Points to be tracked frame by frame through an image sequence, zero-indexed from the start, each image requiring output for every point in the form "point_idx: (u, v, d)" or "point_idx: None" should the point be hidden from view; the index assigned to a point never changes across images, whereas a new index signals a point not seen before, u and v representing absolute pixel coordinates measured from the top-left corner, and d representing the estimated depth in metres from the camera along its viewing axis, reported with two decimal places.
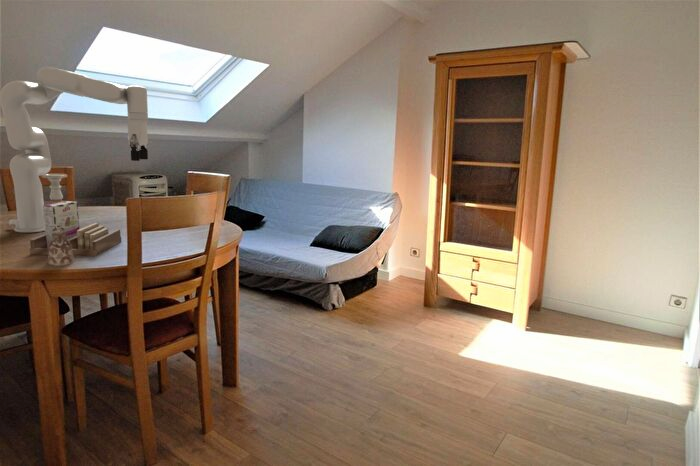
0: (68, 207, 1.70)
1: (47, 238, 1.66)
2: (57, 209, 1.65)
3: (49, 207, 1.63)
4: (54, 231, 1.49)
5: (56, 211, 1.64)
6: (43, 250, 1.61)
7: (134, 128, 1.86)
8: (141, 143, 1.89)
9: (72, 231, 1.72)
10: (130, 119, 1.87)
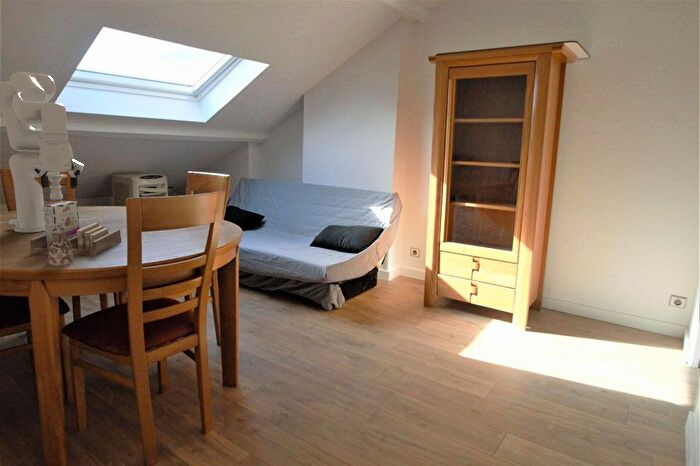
0: (68, 207, 1.70)
1: (47, 238, 1.66)
2: (57, 209, 1.65)
3: (49, 207, 1.63)
4: (54, 231, 1.49)
5: (56, 211, 1.64)
6: (43, 250, 1.61)
7: (71, 152, 1.65)
8: None
9: (72, 231, 1.72)
10: (62, 142, 1.63)
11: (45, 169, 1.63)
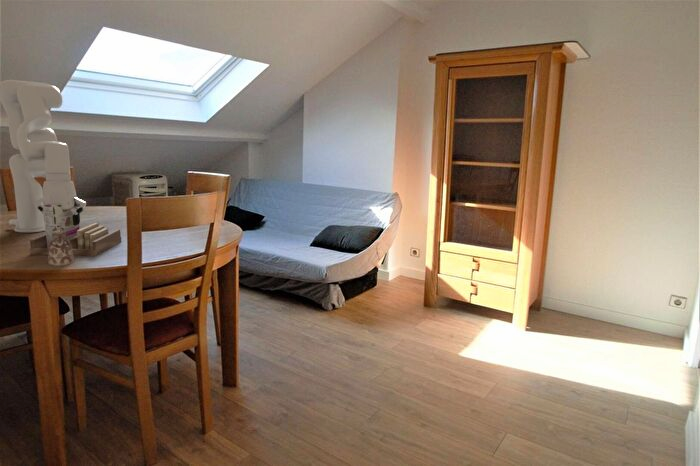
0: None
1: (47, 238, 1.66)
2: (57, 209, 1.65)
3: (49, 207, 1.64)
4: (54, 231, 1.49)
5: (56, 211, 1.64)
6: (43, 250, 1.61)
7: (74, 190, 1.68)
8: None
9: (72, 231, 1.72)
10: (65, 180, 1.66)
11: None
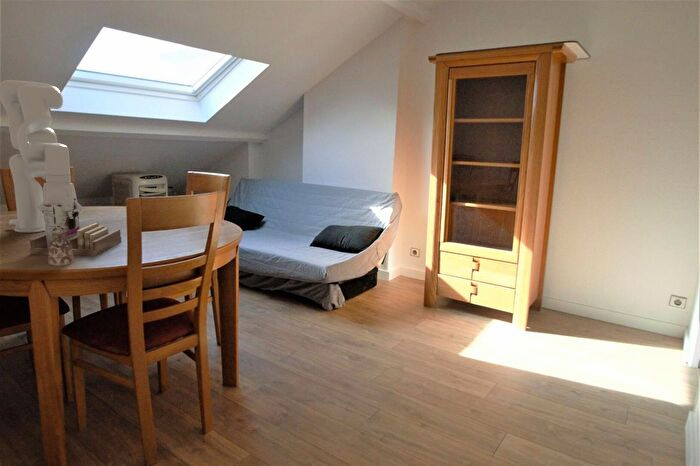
0: None
1: (47, 238, 1.66)
2: (57, 208, 1.65)
3: (49, 207, 1.63)
4: (54, 231, 1.49)
5: (56, 211, 1.64)
6: (43, 250, 1.61)
7: (73, 192, 1.69)
8: None
9: (72, 231, 1.72)
10: (65, 182, 1.66)
11: None
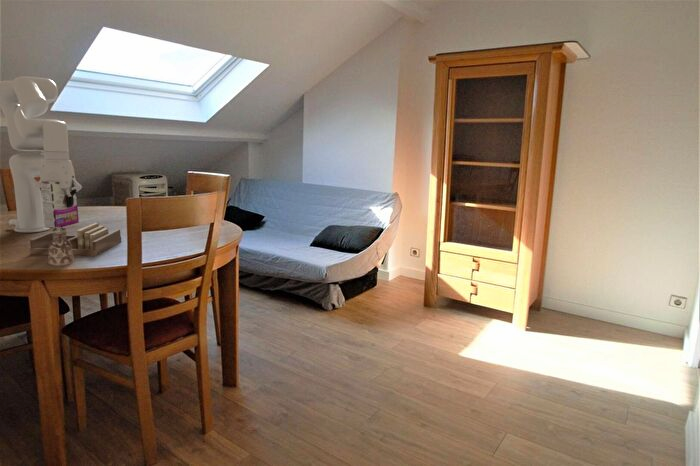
0: None
1: (45, 215, 1.65)
2: (55, 186, 1.64)
3: (47, 184, 1.62)
4: (54, 231, 1.49)
5: (54, 188, 1.63)
6: (43, 250, 1.61)
7: (72, 169, 1.67)
8: None
9: (70, 209, 1.71)
10: (63, 159, 1.64)
11: None
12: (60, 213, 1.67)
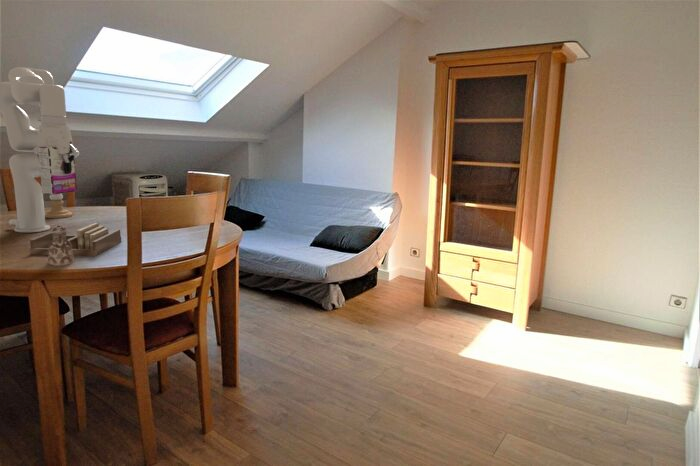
0: None
1: (42, 181, 1.62)
2: (53, 151, 1.61)
3: (44, 149, 1.59)
4: (54, 231, 1.49)
5: (51, 153, 1.60)
6: (43, 250, 1.61)
7: (69, 135, 1.64)
8: None
9: (67, 176, 1.68)
10: (61, 124, 1.62)
11: None
12: (58, 179, 1.64)
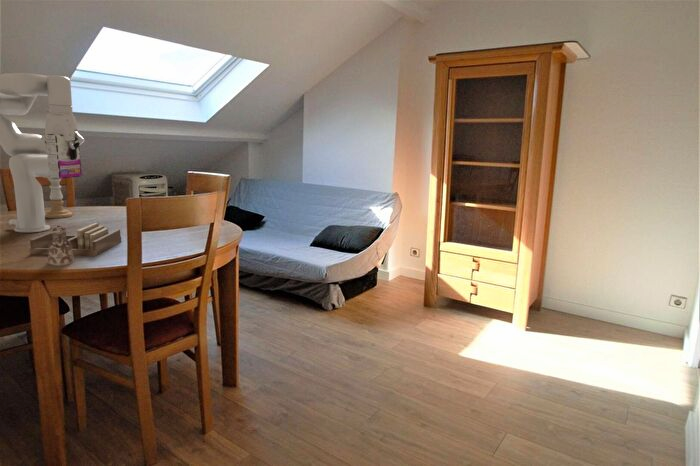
0: None
1: (49, 166, 1.74)
2: (59, 138, 1.72)
3: (52, 136, 1.71)
4: (54, 231, 1.50)
5: (58, 140, 1.72)
6: (43, 250, 1.61)
7: (75, 123, 1.76)
8: None
9: (73, 162, 1.80)
10: (67, 113, 1.73)
11: None
12: (64, 164, 1.75)
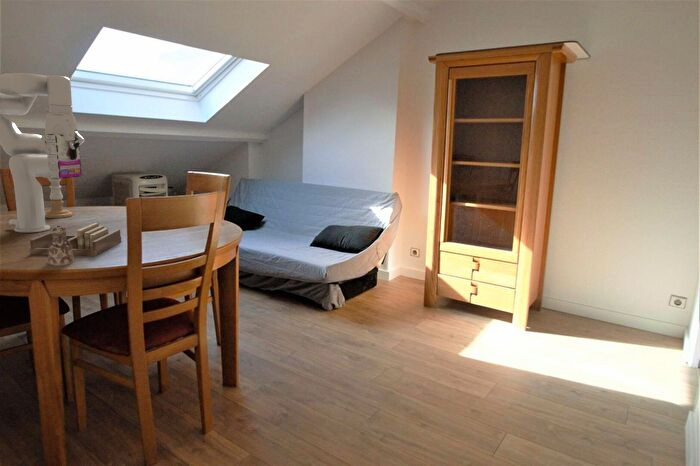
0: None
1: (49, 166, 1.74)
2: (60, 138, 1.72)
3: (52, 136, 1.71)
4: (54, 231, 1.49)
5: (58, 140, 1.72)
6: (43, 250, 1.61)
7: (75, 123, 1.76)
8: None
9: (73, 162, 1.80)
10: (67, 113, 1.73)
11: None
12: (64, 164, 1.75)
